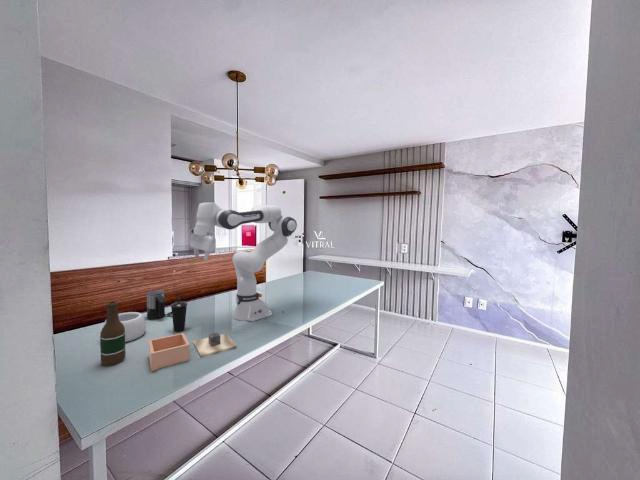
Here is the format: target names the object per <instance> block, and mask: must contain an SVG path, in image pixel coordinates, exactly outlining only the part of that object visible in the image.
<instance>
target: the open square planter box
mask: <svg viewBox="0 0 640 480" xmlns="http://www.w3.org/2000/svg"><path fill="white" fill-rule="evenodd" d="M148 359H149V367H150V371H151V373H152V372H155V371H158V370H159V369H161V368H165V367H166V368H167V367H169V366H172V365H173V366H174V365H176V364H181V363H185V362H188V361H190V342H189V340H188V339H187V337H186V335H185V332H182V333H177V334H172V335H168V336H163V337H158V338H154V339H148Z"/></svg>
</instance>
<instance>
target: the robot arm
mask: <svg viewBox="0 0 640 480" xmlns="http://www.w3.org/2000/svg"><path fill="white" fill-rule="evenodd" d="M250 223H255V224H266V223H268V228H269V229H270V230H271V231H272V232H273V234H272V235H270V236H268V237H267V238H265V239H264V240H262V241H260V242H259V243H257V245H256V247H255V248H254V249H253V250H251V251H244V250H241V251H237V252H235V253H234V254H233V256H232V259H231V261H232V264H233V266H234V272H235V275H236V283H237V284H236V288H237V289H236V295H235V296H236V297H235V303H236V307H235V312H234V315H233V318H234V319H235V320H237V321H247V322H255V321H259V320H260V319H264V318H268V317H272V316H273V312H272V311H271V310H270V309H269V306H268V305H269V304H267V303H266V302H265V301H264V300H263V299H262V297H263V294H262V293H259V292H257V278H256V275H255V273H258V272H260V271H261V270H262V269H263V267H264V264H265V263H266V262H267V260H269V259H270V258H271V257H272V256H274V255H276V254H277V253H278V252H280V251H281V250H282V249H283V248H284V247H285V246H286V245H287V244H288V242H289V240H288V237H290V236H292V234H293V233H295V231H296V230H297V226H298V224H297V220H296V219H295V218H294V217H291V216H285V215H282V210H281V208H280V207H279V206H278V205H275V204H260V205H259V204H258V205H256V206H253V207H252V208H251V209H250V210H249V211H248V210H247V211H241V212H239V211H236V210H233V209H226V210H225V209H224V208H222V207H220V206H219V205H218V204H217V203H216V202H215V201H202V202H199V204H198V207H197V211H196V223H195V225H194V226H195V227H194V228H191V229H190V231H189V233H190V236H189V237H190V238H189V246H190V248H193V251H194V255H193V256H194V257H195V258H199V257H200V253H199V251H204V255H203V260H204V261H208V260H209V256H210V255H211V253H215V252H216V249H217V247H216V246H217V239H216V236H215V235H214V230H215V226H216V227H217V228H221V229H225V230H234V229H236V228H238V227H239V226H241V225H244V224H250Z"/></svg>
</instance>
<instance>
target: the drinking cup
mask: <svg viewBox="0 0 640 480" xmlns="http://www.w3.org/2000/svg"><path fill="white" fill-rule="evenodd" d="M177 295H178V296H177V297H178V298H177V300H178V301H175V302H173V303H171V304H170V308H171V312H172V315H171V318H172V325H173V328H172V329H173V331H175V333H180V331H181V332H183V331H185V328H186V327H185V326H186V319H187V307H188V302H186V301H181V292H180V291H178V293H177Z"/></svg>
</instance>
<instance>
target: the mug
mask: <svg viewBox="0 0 640 480" xmlns="http://www.w3.org/2000/svg"><path fill="white" fill-rule="evenodd" d="M118 316H119V321H120V322H121V323H122V324H123V325H124V327H125V343H128V342H132V341H134V340H137V339H139V338H141V337H142V336H143V335H144V334H145V333H146V329H147V324H146V319H145V317H144V315H143V313H142V312H137V311H136V312H135V311H128V312H120V313H118ZM105 324H106V320H104V323H103V326H102V328H103V327H104V326H105Z"/></svg>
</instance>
